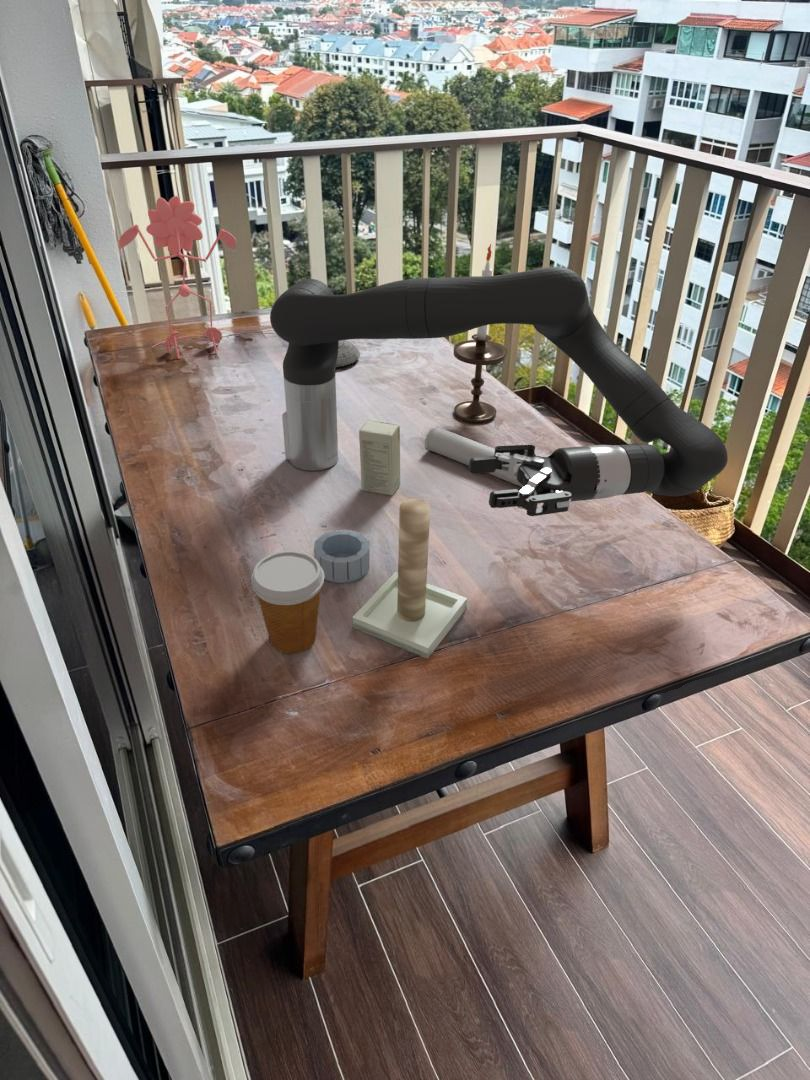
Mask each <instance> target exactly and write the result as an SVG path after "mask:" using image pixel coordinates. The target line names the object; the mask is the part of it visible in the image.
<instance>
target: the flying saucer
mask: <svg viewBox="0 0 810 1080" xmlns="http://www.w3.org/2000/svg"><path fill="white" fill-rule="evenodd" d="M360 357H361V352H360V350H359V349H358V347H357V346H356V345H354V343H353V342H351V341H348V340H340V341H339V347H338V357H337V361H336V366H335V368H340V367H342V368H343V367H345V366H348V365H351V364H353V363H355V362H356V361H358V360H359V359H360Z"/></svg>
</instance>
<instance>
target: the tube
mask: <svg viewBox="0 0 810 1080" xmlns="http://www.w3.org/2000/svg"><path fill="white" fill-rule="evenodd" d="M424 445H425V446H424V448H425V450H426V451H429V452H434V453H436V454H439V455H442V456H444V457H446V458H449V459H451V460H454V461H456V462H459V463H462V464H463V465H466V466H469V462H470V459H472V458H477V457H489V456H494V453H495V447H494V448H493V447H490V446H488V445H485V444H483V443H481V442H479V441H475V440H472V439H470V438H467V437H464V436H461V435H460V434H457V433H454V432H452V431H449V430H446V429H444V428H443V427H441V426H440V425H434V426H433V427H431V428H430V429H429V430H428V432H427V435H426V437H425V442H424ZM503 454H507V455H509V454H510V453H503ZM520 465H521V464H517V466H516V471H517V472H518V468H519V466H520ZM502 466H505V467H510V464H506V465H502ZM487 474H489V475H490V476H494V477H496V478H499V479H502V480H504V481H506V482H507V483H511V484H513V485H516V486H519V487H521V488H523V487H522V484H520V483H519V482H518V480H515V479H511V478H509V477H508V475H507V474H504V473H500V472H496V471H495V472H491V473H487Z"/></svg>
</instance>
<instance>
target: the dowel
mask: <svg viewBox="0 0 810 1080" xmlns="http://www.w3.org/2000/svg"><path fill="white" fill-rule="evenodd" d="M398 515H399V517H398V518H399V520H398V521H399V522H398V553H397V555H398V556H397V557H398V559H397V560H398V563H397V567H398V568H397V572H398V598H397V614H398V616H399V617H400V618H401V619H402V620H405V621H409V622H414V621H418V620H421V619H422V618H423V617H424V615H425V604H426V584H427V583H428V582H427V580H428V563H429V560H428V559H429V541H430V540H429V539H430V525H431V524H430V522H431V505H430V504H429V502H428V501H426V500H423V499H421V498H420V499H419V498H410V499H409V498H408V499H405V500H404V501H402V502H401V503H400V504H399V514H398Z"/></svg>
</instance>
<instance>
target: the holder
mask: <svg viewBox="0 0 810 1080" xmlns="http://www.w3.org/2000/svg"><path fill="white" fill-rule="evenodd" d="M370 547H371V546H370V541H369V539H368V538H367V537H366V536H365V535H364V534H362V533H360V532H358V531H354V530H350V529H336V530H331V531H328V532H325V533H323V534H321V535H320V536H319V537H318V538H317V539H316V540H315V541H314V547H313V557H314V558H315V559H316V560H317V561H318V563H319V565H320V566H321V568H322V569H323V571H324V575H325V578H324V581H327V582H330V583H334V584H349V583H354V582H357V581H359V580H361V579H362V578H364V577H365V576H366V575H367V574H368V572H369V570H370V556H371V555H370V551H371V549H370Z"/></svg>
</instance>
